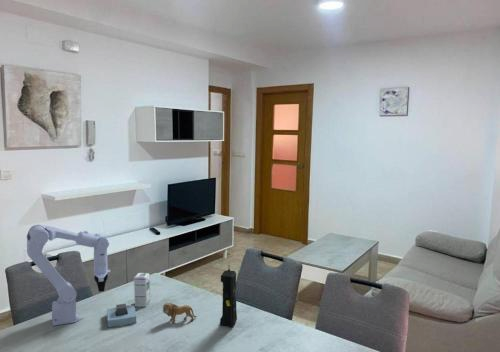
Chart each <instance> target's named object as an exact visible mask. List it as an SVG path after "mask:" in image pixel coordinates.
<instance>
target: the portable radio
mask: <svg viewBox="0 0 500 352" xmlns="http://www.w3.org/2000/svg"><path fill="white" fill-rule="evenodd" d="M228 267H230V265H229V264H228ZM220 282H221V283H222V311H221V312H222V313H221V314H222V315H221V317H220V318H219V323H220V324H219V326H220V327H225V328H233V327H235V324H236V322H237V320H238V317H237V316H238V315H237V311H238V310H237V297H236V290H237V272H236V271H235V270H231V269H230V268H228V270H226V269H225V270H224V271H223V272H222V274H220Z"/></svg>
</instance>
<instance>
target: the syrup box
mask: <svg viewBox="0 0 500 352" xmlns="http://www.w3.org/2000/svg"><path fill="white" fill-rule="evenodd" d="M133 282H134V283H133V286H134V290H133V291H134V307H138V308H139V307H141V308H143V307H144V308H145V307H146V308H147V307H148V305H149V304H150V302H151V288H150V287H151V285H150V284H151V283H150V273H149V272H138V273H137V274H136V275H134V277H133Z"/></svg>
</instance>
